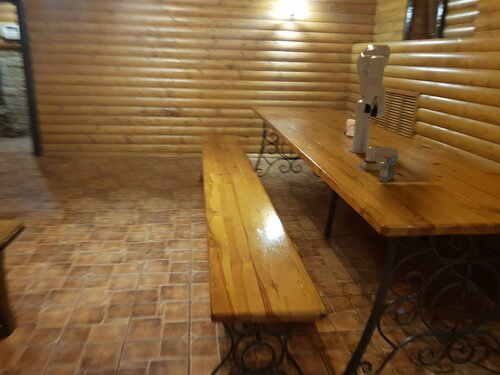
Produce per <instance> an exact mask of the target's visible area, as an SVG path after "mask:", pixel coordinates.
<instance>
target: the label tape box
mask: <svg viewBox="0 0 500 375" xmlns="http://www.w3.org/2000/svg"><path fill="white" fill-rule="evenodd" d="M393 159H394V160H393ZM396 159H397V155H396V156H394V157H392V158H390V162H387V163H385V164H383V165H382V166H381V171H380V172H379V177H378V182H379V183H382V184H388V183H389V182H390V180H392V179H394V175H395V172H394V170H395V169H396V164H397V162H396ZM392 160H393V161H392ZM395 171H396V170H395Z"/></svg>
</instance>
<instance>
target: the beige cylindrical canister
mask: <svg viewBox="0 0 500 375" xmlns="http://www.w3.org/2000/svg"><path fill="white" fill-rule="evenodd" d="M375 154H376V146H368V147H367V153H365V155H366V157H365V160H366V163H367V164H375Z"/></svg>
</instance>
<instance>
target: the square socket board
mask: <svg viewBox="0 0 500 375" xmlns="http://www.w3.org/2000/svg"><path fill="white" fill-rule="evenodd" d="M392 157H393V156H389V155H385V156H384V158H387V162H389V159H390V158H392ZM387 162H377V161H376V160H375V164H367V163H366V159H360V161H359V164H360V167H361V168H362V169H363V170H365V171H380V170H381V166H382V165H383V164H385V163H387Z"/></svg>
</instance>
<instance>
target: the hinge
mask: <svg viewBox="0 0 500 375" xmlns="http://www.w3.org/2000/svg"><path fill="white" fill-rule="evenodd" d="M375 147H376V146H375ZM385 155H389V156H393V157H394V156H396V155H397V159H396V163H401V161H400V155H399V150H398V149H397V148H395V147H392V146H391V147H390V146H377V147H376V154H375V160H376V161H377V162H387V158H384V156H385ZM393 160H394V159H393ZM393 160H392V161H393ZM389 162H390V159H389Z"/></svg>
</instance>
